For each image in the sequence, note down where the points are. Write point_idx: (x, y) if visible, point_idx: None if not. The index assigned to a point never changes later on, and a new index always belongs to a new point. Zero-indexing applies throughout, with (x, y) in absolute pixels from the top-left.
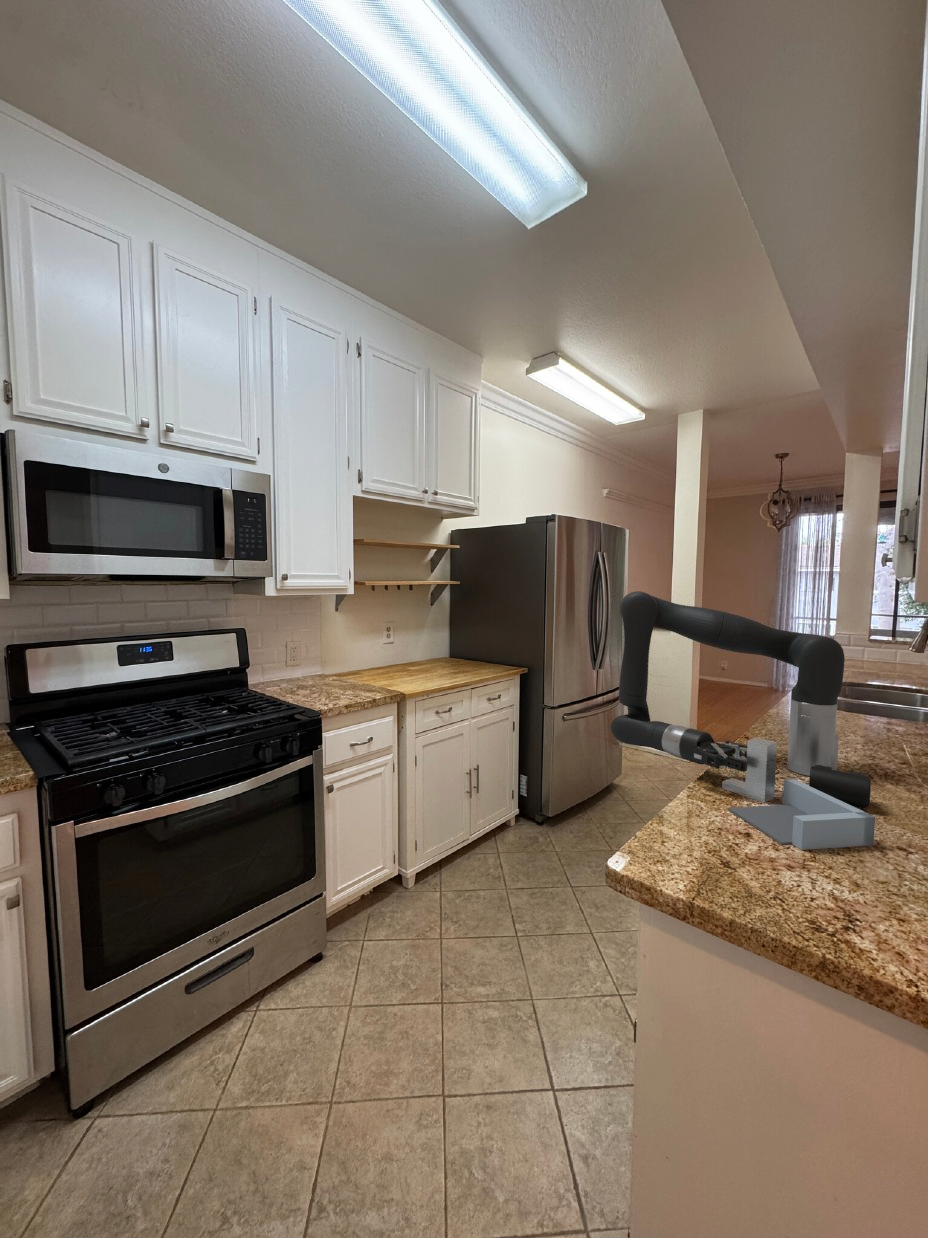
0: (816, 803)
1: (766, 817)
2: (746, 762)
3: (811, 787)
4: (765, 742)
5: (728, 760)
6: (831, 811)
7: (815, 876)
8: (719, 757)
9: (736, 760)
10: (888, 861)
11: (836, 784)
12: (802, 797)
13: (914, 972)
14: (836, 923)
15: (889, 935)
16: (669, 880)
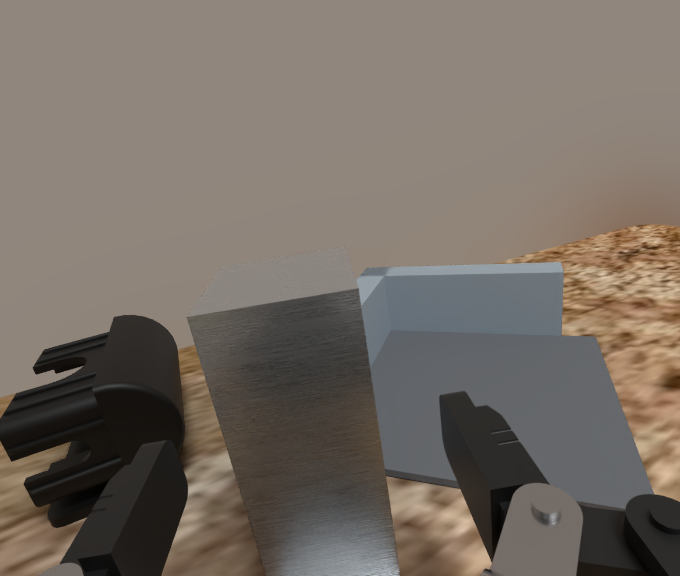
0: None
1: (523, 416)
2: (444, 394)
3: None
4: (287, 266)
5: (543, 476)
6: (368, 325)
7: (605, 289)
8: (646, 495)
9: (487, 433)
10: None
11: (170, 363)
12: None
13: (624, 229)
14: (662, 250)
15: (601, 244)
16: None
